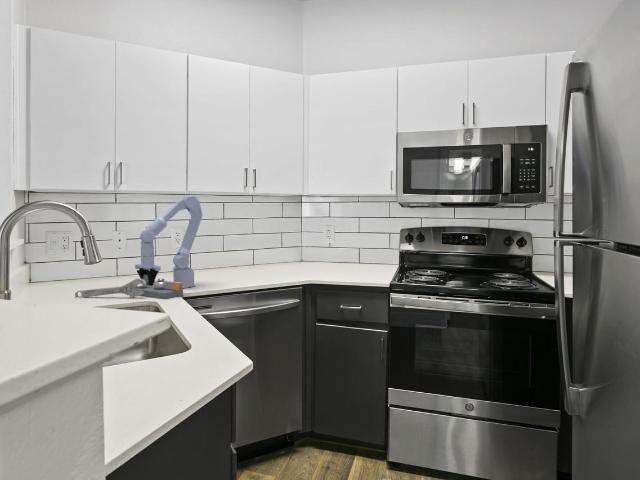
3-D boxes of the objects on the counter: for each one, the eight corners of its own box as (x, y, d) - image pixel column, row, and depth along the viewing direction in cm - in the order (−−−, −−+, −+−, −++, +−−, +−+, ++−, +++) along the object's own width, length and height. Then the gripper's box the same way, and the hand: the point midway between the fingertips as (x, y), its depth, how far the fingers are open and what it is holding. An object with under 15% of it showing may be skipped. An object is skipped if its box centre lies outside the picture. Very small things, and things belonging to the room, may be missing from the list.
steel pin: (148, 288, 218) (148, 273, 218) (154, 289, 216) (154, 274, 216) (141, 289, 215) (141, 274, 214) (147, 290, 213) (147, 275, 212)
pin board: (144, 290, 213) (144, 285, 212) (183, 295, 201) (183, 289, 201) (125, 293, 204) (125, 288, 204) (165, 299, 192) (165, 293, 192)
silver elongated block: (161, 286, 207) (161, 277, 207) (185, 289, 200) (185, 280, 200) (150, 288, 202) (150, 279, 202) (175, 291, 195) (175, 282, 195)
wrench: (78, 303, 197) (148, 296, 196) (76, 304, 195) (146, 297, 194) (75, 285, 196) (145, 277, 195) (73, 285, 194) (143, 278, 193)
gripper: (129, 255, 215) (130, 285, 215) (151, 257, 208) (152, 287, 209) (141, 254, 221) (142, 283, 222) (163, 256, 214) (164, 285, 215)
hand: (147, 285), depth 216 cm, fingers closed on steel pin, 4 cm apart
